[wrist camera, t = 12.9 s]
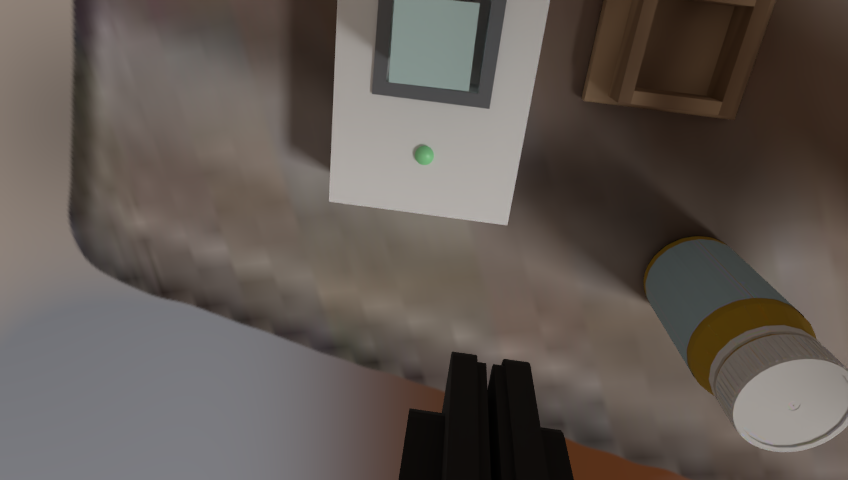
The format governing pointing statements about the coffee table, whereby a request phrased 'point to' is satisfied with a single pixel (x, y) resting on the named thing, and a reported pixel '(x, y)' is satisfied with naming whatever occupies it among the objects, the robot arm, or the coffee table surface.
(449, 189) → the panel
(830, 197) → the coffee table surface
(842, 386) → the bottle
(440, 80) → the plug
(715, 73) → the square wooden tray
